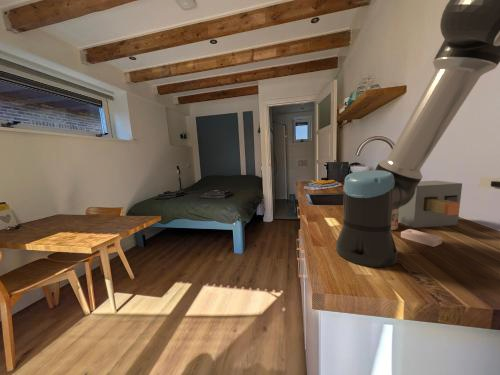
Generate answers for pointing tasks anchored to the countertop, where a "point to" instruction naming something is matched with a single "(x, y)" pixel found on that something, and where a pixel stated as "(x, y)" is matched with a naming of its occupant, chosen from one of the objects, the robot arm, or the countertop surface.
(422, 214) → the panel
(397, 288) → the countertop surface
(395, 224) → the teacup with lid
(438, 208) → the plunger
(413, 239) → the soap bar
